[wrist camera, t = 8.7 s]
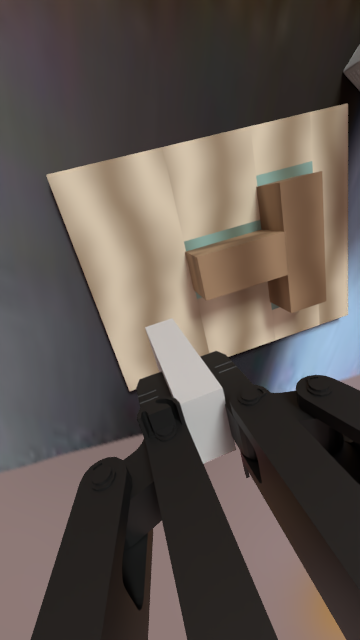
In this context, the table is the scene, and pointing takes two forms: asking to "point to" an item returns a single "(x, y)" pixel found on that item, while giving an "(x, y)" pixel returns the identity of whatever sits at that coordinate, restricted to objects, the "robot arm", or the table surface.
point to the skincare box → (354, 69)
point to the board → (200, 233)
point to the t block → (272, 249)
